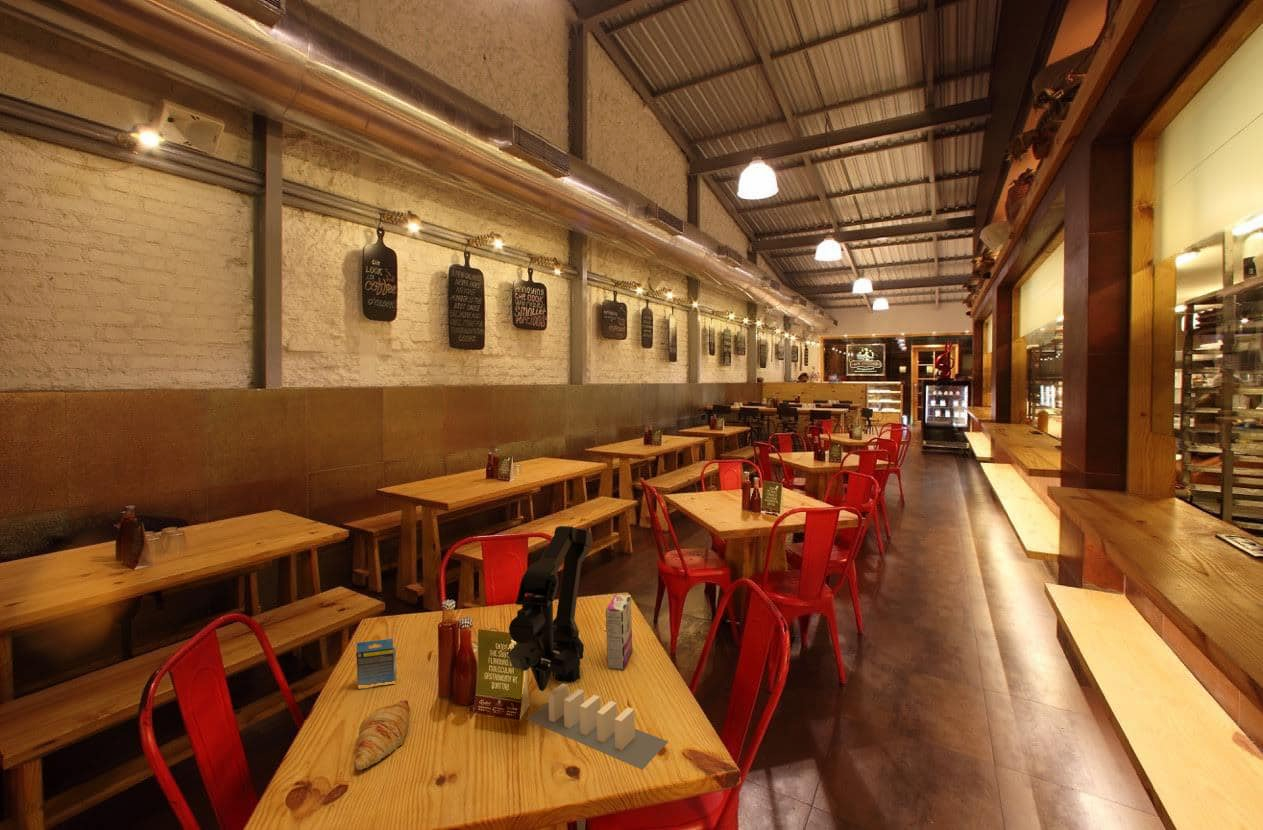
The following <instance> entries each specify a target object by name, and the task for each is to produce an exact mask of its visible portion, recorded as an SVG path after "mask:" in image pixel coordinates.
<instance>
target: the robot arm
mask: <svg viewBox="0 0 1263 830" xmlns="http://www.w3.org/2000/svg"><path fill="white" fill-rule="evenodd" d="M592 544H593V534H592V533H591V532H590V530H589V529H588V528H577V527H574V526H571V525H570V526H569V525H568V526H567V525H559V526H556V527H555V529H554V535H553V537H551V540H550V541H549V543H548V545H547V546H546V549H545V550H544V552H543V554H542V556H541V557H540V559H539V560H537V561H535V562H534V563H532V564H530V566H529V567H528V568H527V569H526V571H525V572H524V574H523V575H522V577H521V581H520V585H519V588H518V592H517V597H516V601H515V605H517V606H521V607H522V608H520V609H518V610H517V612H516V616H515V617H514V618H513V619H512V620H511V621H510V623H509V626H508V632H509V635H510V637H511V640H512V639H513V640H514V641H516V642H518V644H517V645H516V646H515V647H514V648H513V649H512V650H511V651H510V652H509V654H508V656H507V657H508V659H509V662H510V664H511V667H512V668H514V669H515V668H517V669H519V670H520V671H523V672H526V671H528V670H529V669H530V670H531V672H532V674H533V677H534V680H535V681H536V685H537V687H538V690H539V691H540V692H544V691H545V690H546V688H547V686H548V683H549V681H550V678H551V676H552V677H553V679H554V680H555V681H557V682H560V683H575V682H576V681H578V680H579V679H580V677H581V675H580V673H581V672H580V666H581V660H582V659H584V651H585V649H584V647H585V645H584V643H583V642H582V640H581V639H580V637H579V634H580V630H579V627H578V625H577V623H576V620H575V616H576V608H577V601H578V593H579V587H580V586H579V584H580V577H581V571H582V570H581V569H582V563H583V561H584V560H586V557H587V556H588V555H589V553H590V548H591V546H592ZM562 563H563V567H562V573H561V580H560V581H561V582H560V588H559V594H558V595H559V596H558V602H557V609H556V616H555V618H554V607H553V606H554V604H553V602H554V601H555V598H556V595H557V590H558V587H559V577H558V570H559V569H560V567H561V564H562ZM525 595H526V596H525ZM527 595H529V596H527ZM531 595H532V596H531Z"/></svg>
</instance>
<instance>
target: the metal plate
mask: <svg viewBox="0 0 1263 830" xmlns="http://www.w3.org/2000/svg"><path fill="white" fill-rule="evenodd" d="M525 720H526V721H529V722H531V723H534V724H536V725H538V726H541V727H542V728H543V727H544V728H546V729H548V730H549V731H552V732H554V733H557V734H559V735H562V736H564V737H566V738H568V739H571V740H573V741H576V742H577V743H580V744H582V745H585V746H587V747H588V748H592V749H594V750H596V751H598V752H601V753H603V754H605V755H608V756H610V757H611V758H615V759H617V760H619V761H621V762H624V763H626V764H629V765H630V766H633V767H635V768H637V769H640V770H644V769H645V768H646V767H647V766H648V764H649V763H650V762H651V761H652V760H653V759H655V757H656V756H657V754H659V752H661V750H662V749H664V747H665V746H666V745H667V744H668V743H669V741H668V740H665V739H663V738H660V737H658V736H655V735H652V734H650V733H649V732H648V733H647V732H645V731H642V730H640V729H636V728H635V738H634V739H633V740H632V741H631V742H630V743H629V744H627V745H626V746H625V747H624V748H623V749H622V750H620V749H617V748H615V733H614V734H613V735H611V736H610V737H609V738H608V739H607V740H606V741H605V742H604V743H603V742H600V741H598V740H597V727H596V728H595V729H594V730H592V731H591V732H590V733H589V734H588V735H587V736H586V735H584V734H581V733H580V721H579V722H578V723H577V724H575V725H574V726H573V727H572V728H570V729H569V728H567V727H565V726H564V715H563V716H562V717H560V718H559V719H558V720H557V721H555V722H553V721H550V720H549V702H547V703H546V704H544V705H543V706H541V708H539V709H537V710H536V711H534V712H533V713H532V714H530V715H529V716H528V717H527V718H525Z"/></svg>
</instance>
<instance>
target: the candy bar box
mask: <svg viewBox="0 0 1263 830" xmlns="http://www.w3.org/2000/svg"><path fill="white" fill-rule="evenodd" d="M631 596H632V595H631V594H614V596H613V598H612V599H611V600H610V602H609V604H608V606H606V607H607V608H606V609H605V625H606V651H607V652H606V655H607V656H606V657H607V669H609V670H621V671H624V670H626V668H627V667H626V666H627V665H628V663H629V659H630V658H631V655H632V653H633V631H632V629H633V626H632V601H631V600H632V597H631Z"/></svg>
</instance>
